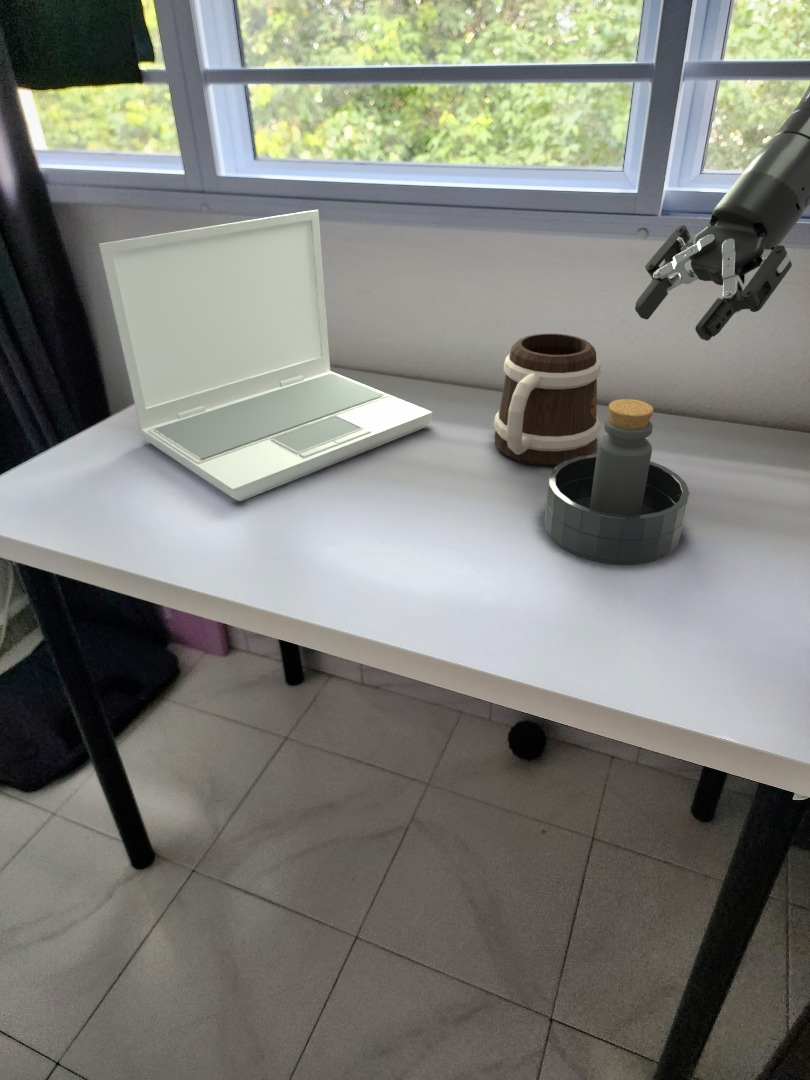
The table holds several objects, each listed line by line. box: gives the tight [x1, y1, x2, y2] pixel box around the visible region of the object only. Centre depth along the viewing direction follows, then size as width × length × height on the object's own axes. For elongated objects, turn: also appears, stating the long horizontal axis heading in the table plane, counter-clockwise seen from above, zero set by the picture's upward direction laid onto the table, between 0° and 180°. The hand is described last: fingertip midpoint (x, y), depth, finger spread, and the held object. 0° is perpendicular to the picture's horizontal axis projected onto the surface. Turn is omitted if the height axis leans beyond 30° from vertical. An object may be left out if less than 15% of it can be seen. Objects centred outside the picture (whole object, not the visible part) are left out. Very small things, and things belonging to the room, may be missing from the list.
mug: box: [493, 333, 602, 467], centre depth 103 cm, size 20×15×15 cm
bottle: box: [590, 398, 654, 515], centre depth 85 cm, size 6×6×15 cm
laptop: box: [98, 209, 434, 502], centre depth 106 cm, size 35×26×28 cm
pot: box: [544, 453, 690, 566], centre depth 88 cm, size 16×16×6 cm
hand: (669, 324), depth 78 cm, fingers open, 8 cm apart
